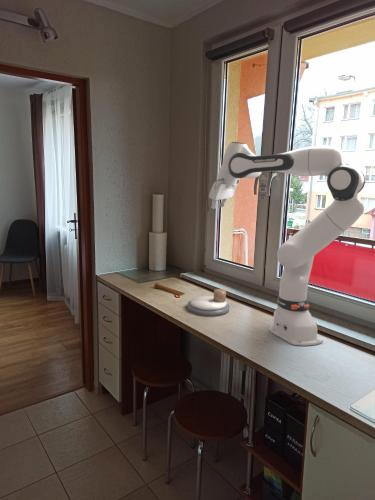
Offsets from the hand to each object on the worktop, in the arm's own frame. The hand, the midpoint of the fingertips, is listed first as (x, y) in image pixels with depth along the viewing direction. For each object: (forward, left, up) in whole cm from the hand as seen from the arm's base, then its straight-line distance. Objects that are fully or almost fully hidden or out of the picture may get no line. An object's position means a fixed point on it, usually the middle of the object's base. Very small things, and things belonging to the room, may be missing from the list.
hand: (217, 207), depth 168 cm
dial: (0, +2, -46) cm, 46 cm away
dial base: (0, +2, -48) cm, 49 cm away
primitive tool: (+30, +14, -49) cm, 59 cm away
